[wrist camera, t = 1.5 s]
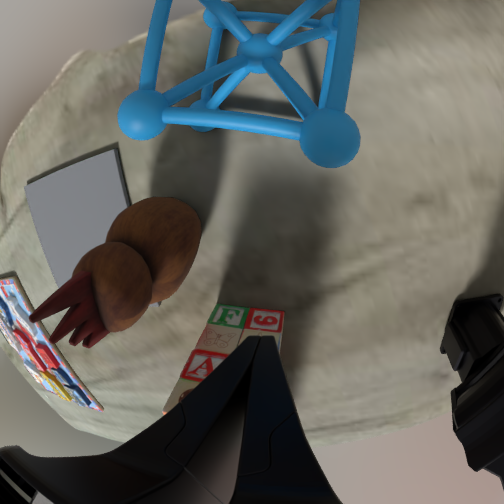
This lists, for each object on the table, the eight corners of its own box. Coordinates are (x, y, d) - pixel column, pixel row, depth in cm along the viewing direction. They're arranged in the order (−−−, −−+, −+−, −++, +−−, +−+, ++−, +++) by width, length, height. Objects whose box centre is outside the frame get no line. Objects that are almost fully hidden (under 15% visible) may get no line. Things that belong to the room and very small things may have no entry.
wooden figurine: (156, 176, 21) (-6, 263, 7) (222, 203, 21) (95, 341, 7) (140, 247, 24) (22, 360, 11) (197, 274, 24) (103, 419, 11)
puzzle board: (-19, 281, 37) (-27, 287, 35) (19, 272, 31) (8, 281, 29) (48, 387, 49) (42, 394, 47) (106, 407, 43) (101, 417, 41)
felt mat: (117, 148, 20) (113, 149, 20) (161, 303, 26) (158, 306, 26) (26, 185, 24) (24, 186, 23) (66, 299, 30) (64, 301, 29)
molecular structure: (352, 24, 13) (387, -47, 4) (331, 153, 18) (358, 180, 9) (212, 8, 14) (146, -54, 5) (192, 129, 19) (104, 142, 10)
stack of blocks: (271, 427, 33) (255, 504, 22) (226, 420, 34) (203, 494, 23) (285, 308, 24) (263, 436, 13) (215, 300, 25) (159, 413, 14)
